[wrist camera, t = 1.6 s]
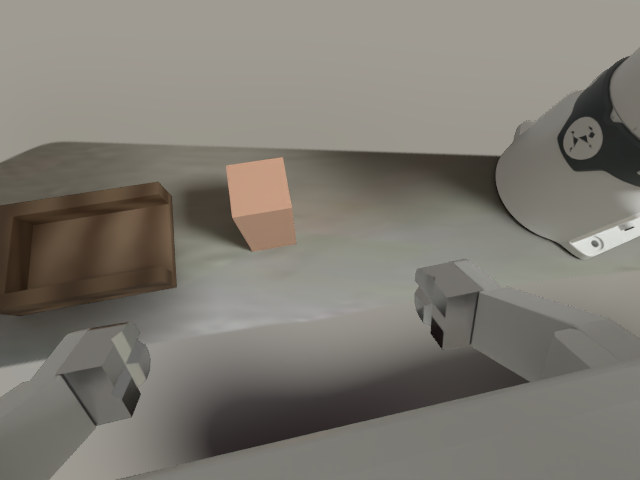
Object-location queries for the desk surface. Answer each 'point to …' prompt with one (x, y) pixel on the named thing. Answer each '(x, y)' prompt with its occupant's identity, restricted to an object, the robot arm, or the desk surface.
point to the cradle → (85, 248)
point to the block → (261, 203)
